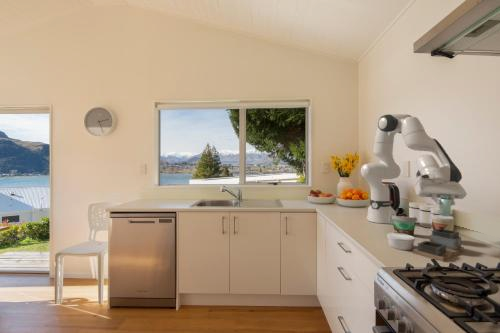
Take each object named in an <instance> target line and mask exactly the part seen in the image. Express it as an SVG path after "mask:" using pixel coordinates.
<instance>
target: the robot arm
mask: <svg viewBox="0 0 500 333" xmlns="http://www.w3.org/2000/svg"><path fill="white" fill-rule="evenodd" d="M397 134H401V136H402V139H403V141H404V144H405V146H406V147H407V148H409V149H410V150H411V151H412V150H413V151H419V152H431V153H432V154H435V156H436V157H437V158H438V160H439V161H440V163H441V165H442V166H440V165H439V163H438V161H437V160H436V158H435V157H434V156H433V155H432V154H425V155H424V154H423V155H420V156H419V157H417V158H416V165H417V166H416V167H417V168H418V170H417V171H416V174H415V176H416V179H415V181H414V184H413V185H414V190H415V191H414V192H415V194H416V196H418V197H419V198H430V199H431V200H433V201H434V202H435V203H436V205H439V206H440V205H441V204H442V201H441V200H440V197H441V195H448V196H452V199H451V206H455V205H456V202H455V199H456V200H457V199H459V200H463V199H464V198H465V197H466V196H467V194H468V193H467V191H466V189H465V188H464V187H463V186H462V185H461V184H460V182H461V181H462V178H463V176H462V172H461V170H460V169H459V168H458V166H457V165H456V164H455V163H454V161H453V160H452V158H450V156H449V155H448V153H447V152H446V150H445V149H444V147H443V146H442V145H441V143H440V142H439V141H438V140H437V139H436V138H433V137H431V136H429V135H428V134H427V132H426V130H425V128H424V126H423V124H422V123H421V120H420V119H419V118H418V117H416V116H412V115H410V114H401V113H397V114H396V113H395V114H393V113H392V114H384V115H382V116H380V117H379V119H378V122H377V129H376V132H375V137H374V142H373V151H372V152H373V155H374V156H375V157H377V158H378V159H379V162H369V163H365V164H363V165H362V166H361V168H360V175H361V176H362V178H364V180H366V181H367V183H368V185H369V188H370V189H369V190H370V200H369V206H368V209H367V216H366V217H365V219H366V220H367V221H369V222H372V223H376V224H390V225H393V219H392V216H393V215H394V216H397V212H396V210H395V209H394V208H393V207H392V206H391V204H393V200H390V189H389V187H388V186H386V185H385V184H384V183H383V180H393V179H397V178H399V177H400V175H401V167H400V166H399V165H398V164H397V162H395V159H394V155H393V152H394V151H393V149H394V142H395V141H394V140H395V135H397Z"/></svg>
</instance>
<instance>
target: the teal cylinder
mask: <svg viewBox="0 0 500 333" xmlns="http://www.w3.org/2000/svg"><path fill="white" fill-rule="evenodd" d="M451 199H452V196H448V195H441V197H440V198H439V200H441V201H442V204H441V205H439V214H438V215H441V216H449V217H451V214H452V212H451V211H452V205H451Z"/></svg>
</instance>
